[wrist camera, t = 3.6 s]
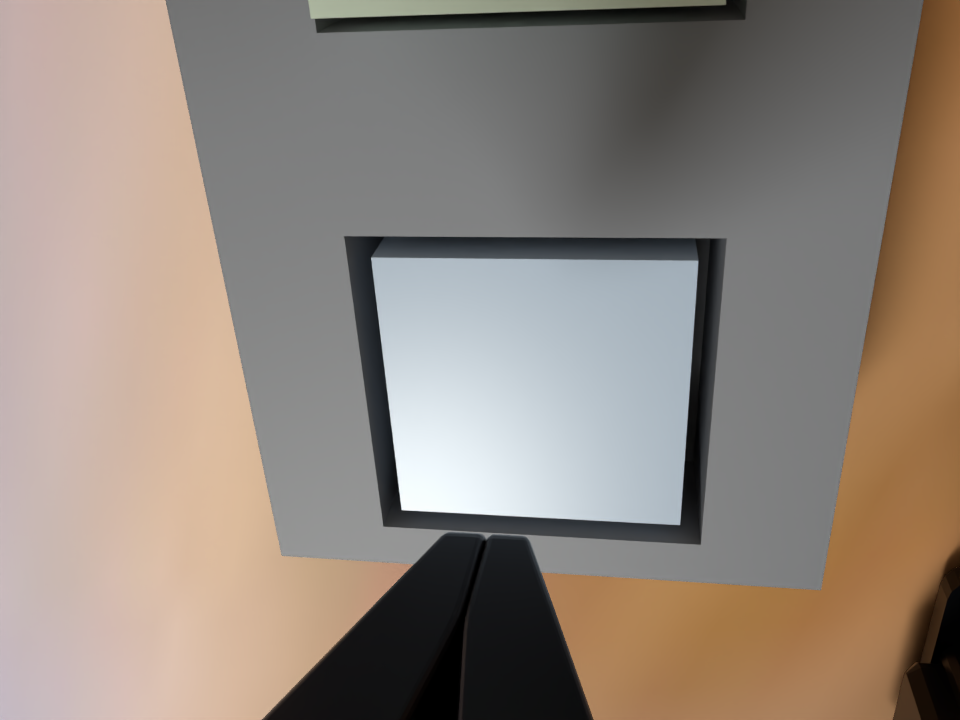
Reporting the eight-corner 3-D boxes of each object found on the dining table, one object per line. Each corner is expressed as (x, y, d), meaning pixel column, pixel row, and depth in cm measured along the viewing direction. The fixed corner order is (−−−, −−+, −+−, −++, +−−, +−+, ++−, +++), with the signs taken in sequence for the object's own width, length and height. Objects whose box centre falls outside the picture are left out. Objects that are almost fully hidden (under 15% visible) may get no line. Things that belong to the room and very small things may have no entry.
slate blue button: (691, 207, 12) (697, 260, 11) (675, 451, 14) (680, 525, 13) (402, 207, 13) (371, 257, 11) (426, 440, 15) (401, 509, 13)
